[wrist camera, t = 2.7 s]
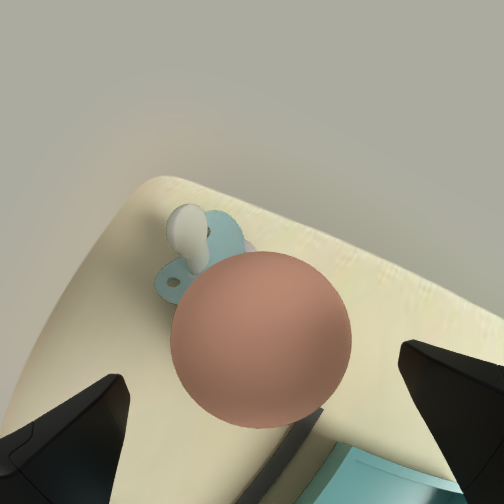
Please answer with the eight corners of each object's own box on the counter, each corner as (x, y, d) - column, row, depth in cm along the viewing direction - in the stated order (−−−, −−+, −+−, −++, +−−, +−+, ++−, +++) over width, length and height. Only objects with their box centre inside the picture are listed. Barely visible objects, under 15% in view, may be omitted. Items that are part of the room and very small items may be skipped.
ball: (282, 449, 10) (304, 479, 5) (165, 373, 12) (100, 336, 6) (350, 334, 12) (408, 273, 7) (241, 273, 14) (232, 185, 9)
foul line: (197, 563, 9) (196, 565, 9) (183, 556, 9) (183, 557, 9) (323, 409, 15) (323, 409, 15) (309, 402, 15) (309, 401, 15)
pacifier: (273, 250, 21) (202, 222, 23) (281, 191, 16) (191, 163, 17) (229, 339, 18) (152, 300, 19) (220, 304, 13) (118, 254, 14)
